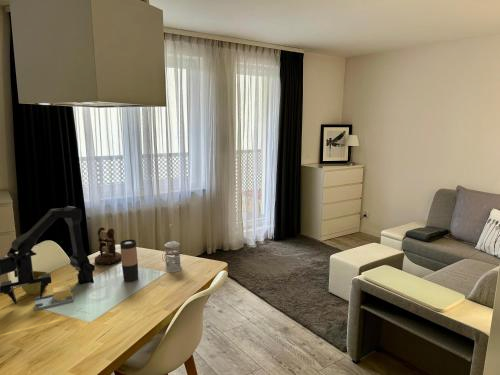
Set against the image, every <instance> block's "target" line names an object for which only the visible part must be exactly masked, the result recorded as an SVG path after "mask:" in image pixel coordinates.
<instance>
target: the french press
mask: <svg viewBox="0 0 500 375" xmlns="http://www.w3.org/2000/svg"><path fill="white" fill-rule="evenodd" d="M168 227H169V228H172V227H174V225H173V224H169V225H168ZM170 236H171V238H170V239H171V241H168V242H166V243H165V244H164V247H165V249H164V250H163V251H162V253H161V254H162V255H161V258H162V261H163V262H164V263H165V268H164V271H165V272H168V273H175V272H179V271H182V270H183V266H182V265H181V254H180V250H179V249H173V248H177V247H179V246H180V243H179V242H178V241H175V240H173V237H172V236H173V234H172V231H170ZM166 248H168V249H166ZM163 256H164V257H163Z"/></svg>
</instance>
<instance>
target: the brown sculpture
mask: <svg viewBox="0 0 500 375" xmlns="http://www.w3.org/2000/svg"><path fill="white" fill-rule="evenodd" d="M97 235H98V239H97V241H98V243H99V244H98V246H99V247H98V250H99V254H97V256H95V257H94V262H95V264H99V265H100V264H101V265H105V264H108V266H110V265H111V264H112V263H115V262H119V261H120V260H121V252H116V240H115V230H114V228H109V229H108V230H106V228H105V227H100V228H98V230H97Z"/></svg>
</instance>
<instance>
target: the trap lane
mask: <svg viewBox="0 0 500 375" xmlns="http://www.w3.org/2000/svg"><path fill="white" fill-rule="evenodd" d="M74 301H75V299H74V294H73V289H71V296H69V297H66V299H61V300H54V296H53V293H51V294H47V295H42V298H41V299H40V296H38V297H37V296H36V297H35V298H34V311H39V310H44V309H45V310H46V309H48V308H53V307H56V306H57V307H58V306H60V305H64V304H70V303H74Z"/></svg>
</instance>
